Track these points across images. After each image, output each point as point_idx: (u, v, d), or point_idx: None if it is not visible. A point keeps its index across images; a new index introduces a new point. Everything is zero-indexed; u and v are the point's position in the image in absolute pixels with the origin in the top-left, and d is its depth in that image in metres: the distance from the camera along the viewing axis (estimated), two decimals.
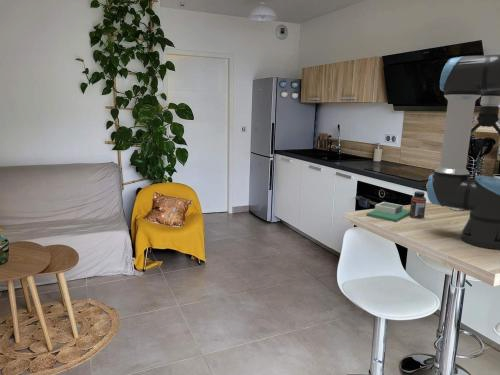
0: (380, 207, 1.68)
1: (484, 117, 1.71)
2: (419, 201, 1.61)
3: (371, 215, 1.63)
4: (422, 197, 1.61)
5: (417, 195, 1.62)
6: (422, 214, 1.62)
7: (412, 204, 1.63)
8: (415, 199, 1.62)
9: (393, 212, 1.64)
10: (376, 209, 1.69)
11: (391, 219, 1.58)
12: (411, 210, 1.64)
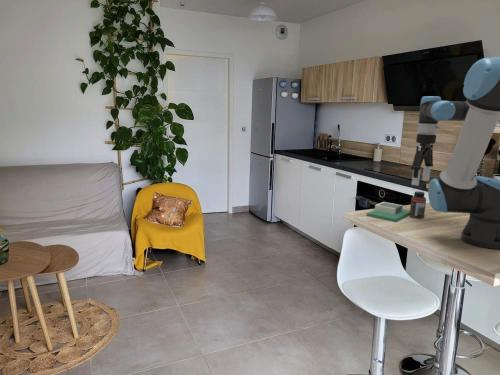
0: (380, 207, 1.68)
1: None
2: (419, 201, 1.61)
3: (371, 215, 1.63)
4: (422, 197, 1.61)
5: (417, 195, 1.62)
6: (422, 214, 1.62)
7: (412, 204, 1.63)
8: (415, 199, 1.62)
9: (393, 212, 1.64)
10: (376, 209, 1.69)
11: (391, 219, 1.58)
12: (411, 210, 1.64)
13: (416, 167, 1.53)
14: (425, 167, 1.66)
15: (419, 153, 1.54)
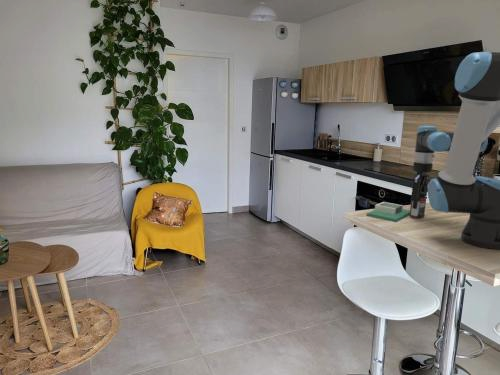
0: (380, 207, 1.68)
1: None
2: None
3: (371, 215, 1.63)
4: (422, 197, 1.61)
5: None
6: (422, 214, 1.62)
7: None
8: None
9: (393, 212, 1.64)
10: (376, 209, 1.69)
11: (391, 219, 1.58)
12: None
13: (415, 199, 1.58)
14: None
15: (416, 185, 1.57)
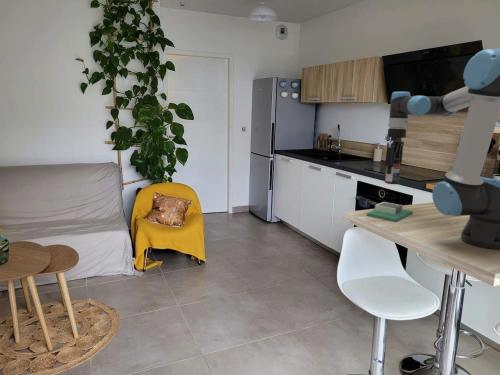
0: (380, 207, 1.68)
1: None
2: None
3: (371, 215, 1.63)
4: (396, 163, 1.64)
5: None
6: (396, 180, 1.65)
7: None
8: None
9: (393, 212, 1.64)
10: (376, 209, 1.69)
11: (391, 219, 1.58)
12: None
13: (389, 164, 1.61)
14: None
15: (390, 150, 1.60)
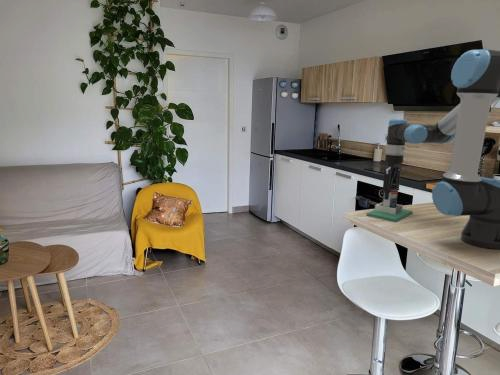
0: (380, 207, 1.68)
1: None
2: (391, 192, 1.66)
3: (371, 215, 1.63)
4: (393, 188, 1.66)
5: None
6: (394, 205, 1.67)
7: None
8: None
9: (393, 212, 1.64)
10: (376, 209, 1.69)
11: (391, 219, 1.58)
12: (383, 201, 1.69)
13: (386, 190, 1.63)
14: None
15: (387, 176, 1.62)
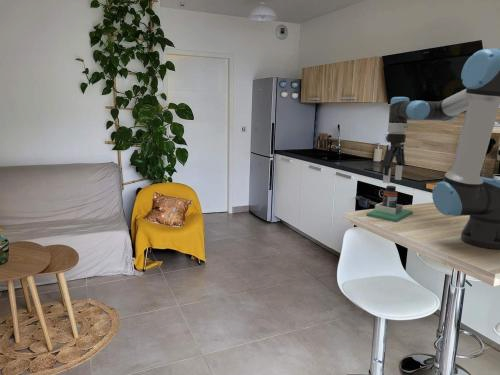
0: (380, 207, 1.68)
1: None
2: (390, 195, 1.66)
3: (371, 215, 1.63)
4: (393, 191, 1.66)
5: (388, 189, 1.67)
6: (393, 207, 1.67)
7: (384, 198, 1.68)
8: (386, 193, 1.67)
9: (393, 212, 1.64)
10: (376, 209, 1.69)
11: (391, 219, 1.58)
12: (383, 204, 1.69)
13: (386, 165, 1.58)
14: (397, 166, 1.71)
15: (389, 152, 1.59)
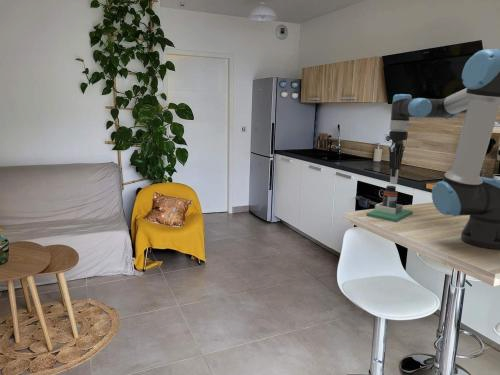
0: (380, 207, 1.68)
1: None
2: (390, 195, 1.66)
3: (371, 215, 1.63)
4: (393, 191, 1.66)
5: (388, 189, 1.67)
6: (393, 207, 1.67)
7: (384, 198, 1.68)
8: (387, 193, 1.67)
9: (393, 212, 1.64)
10: (376, 209, 1.69)
11: (391, 219, 1.58)
12: (383, 204, 1.69)
13: (393, 167, 1.63)
14: None
15: (393, 154, 1.61)
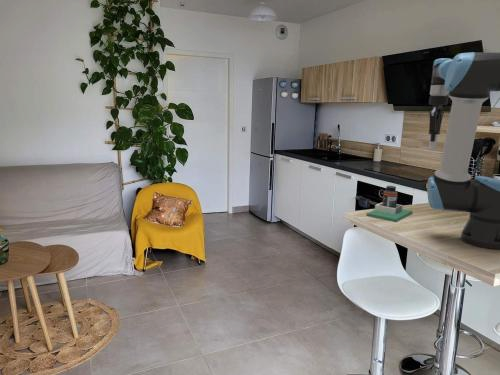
0: (380, 207, 1.68)
1: None
2: (390, 195, 1.66)
3: (371, 215, 1.63)
4: (393, 191, 1.66)
5: (388, 189, 1.67)
6: (393, 207, 1.67)
7: (384, 198, 1.68)
8: (387, 193, 1.67)
9: (393, 212, 1.64)
10: (376, 209, 1.69)
11: (391, 219, 1.58)
12: (383, 204, 1.69)
13: (433, 131, 1.66)
14: None
15: (433, 118, 1.64)
